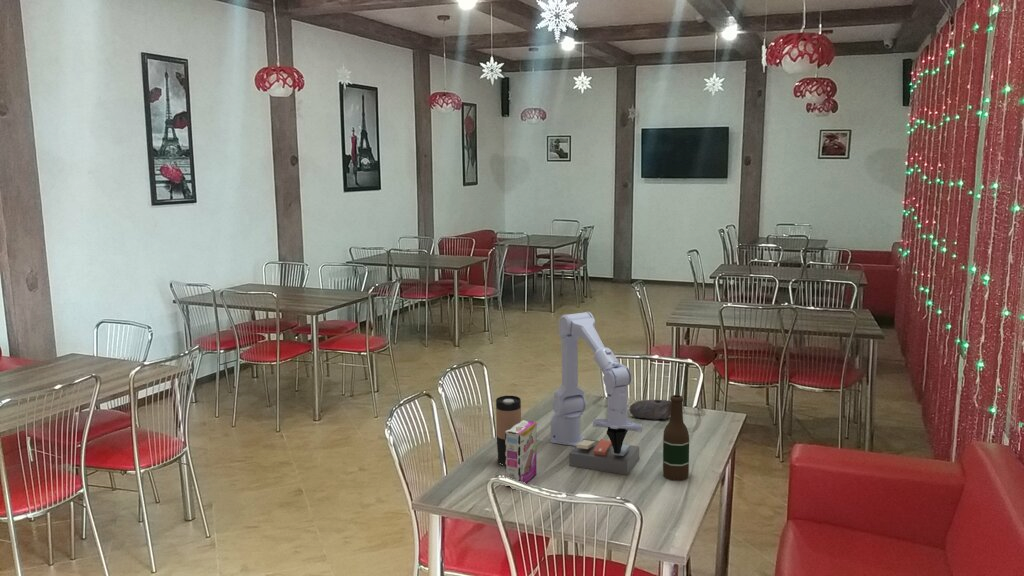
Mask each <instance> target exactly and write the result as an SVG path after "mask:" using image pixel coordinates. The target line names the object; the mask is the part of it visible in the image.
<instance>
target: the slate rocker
mask: <svg viewBox="0 0 1024 576" xmlns="http://www.w3.org/2000/svg"><path fill="white" fill-rule="evenodd" d="M629 449H630V444H626V443H625V444H622V448H621V452H620V453H619V454H615V453H614V449H613V450H612V451H611V454H613V455H620V456H624V455H625V453H626V452H627V451H628V450H629Z"/></svg>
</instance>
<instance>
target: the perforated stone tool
mask: <svg viewBox="0 0 1024 576" xmlns="http://www.w3.org/2000/svg"><path fill="white" fill-rule="evenodd" d="M629 412H630V414H631V416H633V417H635V418H638V419H646V420H652V421H654V420H655V421H656V420H664V421H666V420H667V419H668V418H670V413H671V400H668V399H667V400H664V399H647V400H645V399H644V400H640V401H636V402H634V403H632V404H631V405H630V407H629Z"/></svg>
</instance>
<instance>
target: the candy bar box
mask: <svg viewBox="0 0 1024 576" xmlns="http://www.w3.org/2000/svg"><path fill="white" fill-rule="evenodd" d="M505 464H506V466H505V477H506V476H507V477H510V478H512V479H515V480H518V481H521V482H525V483H526V484H527V483H528V482H530V481H531V480H532V479H533V478H534V477H536V476H537V422H536V421H531V420H530V421H529V420H524V419H523V420H522V419H521V422H519V423H518V424H516V425H514V426H513V427H511V428H510V429H508V430H507V431H505Z"/></svg>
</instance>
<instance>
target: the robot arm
mask: <svg viewBox="0 0 1024 576" xmlns="http://www.w3.org/2000/svg"><path fill="white" fill-rule="evenodd" d="M558 338H561V339H560V343H561V351H560V352H561V386H559V387H558V388H557V389H556V390H555V391H554V393H553V394H554V395H553V401H552V409H553V412H554V413H553V414H552V416H551V419H550V440H549V443H552V444H558V445H565V446H566V445H567V446H573V447H576V446H577V444H578V443H580V442H581V441H582V440H583V439H586V437H585V436H583V435H582V433H581V429H582V427H581V426H582V425H581V424H582V423H581V421H582V419H581V417H582V416H583V413H584V412H585V411H586V408H587V399H586V397H585V391H584V390H583V388H581V387H580V386H579V378H578V377H579V372H578V371H579V369H578V364H579V361H578V360H579V359H578V352H579V351H578V340H579V339H580V338H582V339H583V340H584V341H585V343H586V344H587V345H588V347H589V348H590V349H591V351H593V353H594V355H593V360H594V362H595V363H596V364H597V366H598V368H599V369H600V371H601V373H602V374H603V376H602V380H603V384H604V389H605V393H606V395H607V396H606V397H607V418H606V419H605V418H594V419H593V420H592V427H593V428H597V427H599V428H606V429H607V431H606V435H607V436H608V439H609V441H611V443H612V446H613V449H614V453H615V454H619V453H620V452H621V448H622V444H623V443H624V440H625V437H626V435H627V433H628V431H632V432H637V433H640V434H641V433H642V432H643V430H644V429H643V424H642V423H638V422H633V421H629V420H628V386H629V385H630V384H631V383H632V374H631V373H632V372H631V371H630V368H629V367H628V366H626V365H624V364H623V363H620V362H619V360H618V359H617V357H616V355H615V353H614V352H613V351H612V350H611V348H609V347H606V346H605V345H604V343H603V342H602V339H601V337H600V335H599V333H598V332H597V329H596V319H595V318H594V315H593V314H592V313H591V312H590V311H585V312H584V311H583V312H578V313H571V314H570V313H569V314H562V315H561V316H560V317H559V318H558Z"/></svg>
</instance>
